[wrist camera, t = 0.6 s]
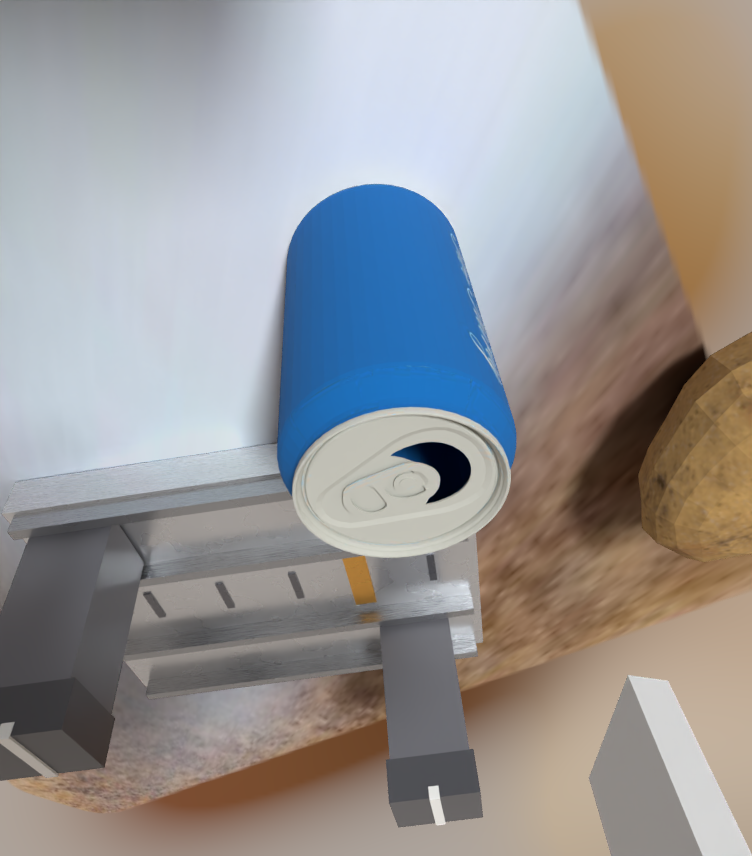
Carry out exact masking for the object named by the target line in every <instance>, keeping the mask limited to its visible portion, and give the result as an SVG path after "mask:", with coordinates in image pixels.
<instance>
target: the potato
mask: <svg viewBox="0 0 752 856" xmlns="http://www.w3.org/2000/svg"><path fill="white" fill-rule="evenodd" d="M638 478H639V487H640V495H641V513H642V528H643V529H644V530H645V531H646V532H647V533H648V534H649V535H650V536H651V537H652V538H653V539H654V540H655V541H656V542H657V543H658V544H660V545H662V546H664V547H666V548H668V549H670V550H672V551H674V552H676V553H678V554H680V555H682V556H684V557H686V558H689V559H693V560H697V561H701V562H708V561H714V560H720V559H726V558H733V557H739V556H745V555H750V554H752V332H751V333H749V334H747V335H745V336H743V337H742V338H740V339H738V340H736V341H735V342H733V343H731V344H729V345H728V346H726V347H724V348H723V349H721V350H719V351H717V352H716V353H714V354H712V355H710V357H709V358H708V359H707V360H706V361H705V362H704V363H703V364H702V366H701V367H700V368H699V369H698V370H697V371H696V372H695V373H694V374H693V376H692V377H691V378H690V379H689V380H688V381H687V382H686V383H685V384H684V386H683V388H682V390H681V392H680V393H679V395H678V397H677V399H676V401H675V403H674V404H673V406H672V408H671V410H670V412H669V413H668V415H667V417H666V419H665V421H664V422H663V424H662V426H661V427H660V429H659V431H658V432H657V434H656V436H655V437H654V439H653V440H652V442H651V444H650V445H649V447H648V450H647V453H646V455H645V458H644V461H643V463H642V466H641V469H640V471H639V474H638Z"/></svg>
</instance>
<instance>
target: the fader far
mask: <svg viewBox="0 0 752 856" xmlns="http://www.w3.org/2000/svg"><path fill="white" fill-rule="evenodd" d="M380 638H381V651H382V664H383V677H384V690H385V703H386V715H387V728H388V740H389V754H390V759H389V760H386V767H387V781H388V794H389V804H390V807H391V809H392V812H393V814H394V817H395V820H396V822H397V825H398V827H406V826H414V825H423V824H431V823H436V825H444V824H446V822H447V821H456V820H465V819H473V818H481V817H483V814H482V804H481V795H480V794H481V793H480V787H479V781H478V775H477V769H476V762H475V757H474V750H473V749H469V745H468V738H467V732H466V726H465V720H464V713H463V707H462V702H461V695H460V688H459V682H458V676H457V670H456V663H455V657H454V651H453V645H452V638H451V632H450V626H449V620H448V618H443V619H436V620H428V621H421V622H413V623H406V624H399V625H391V626H384V627H380Z"/></svg>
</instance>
